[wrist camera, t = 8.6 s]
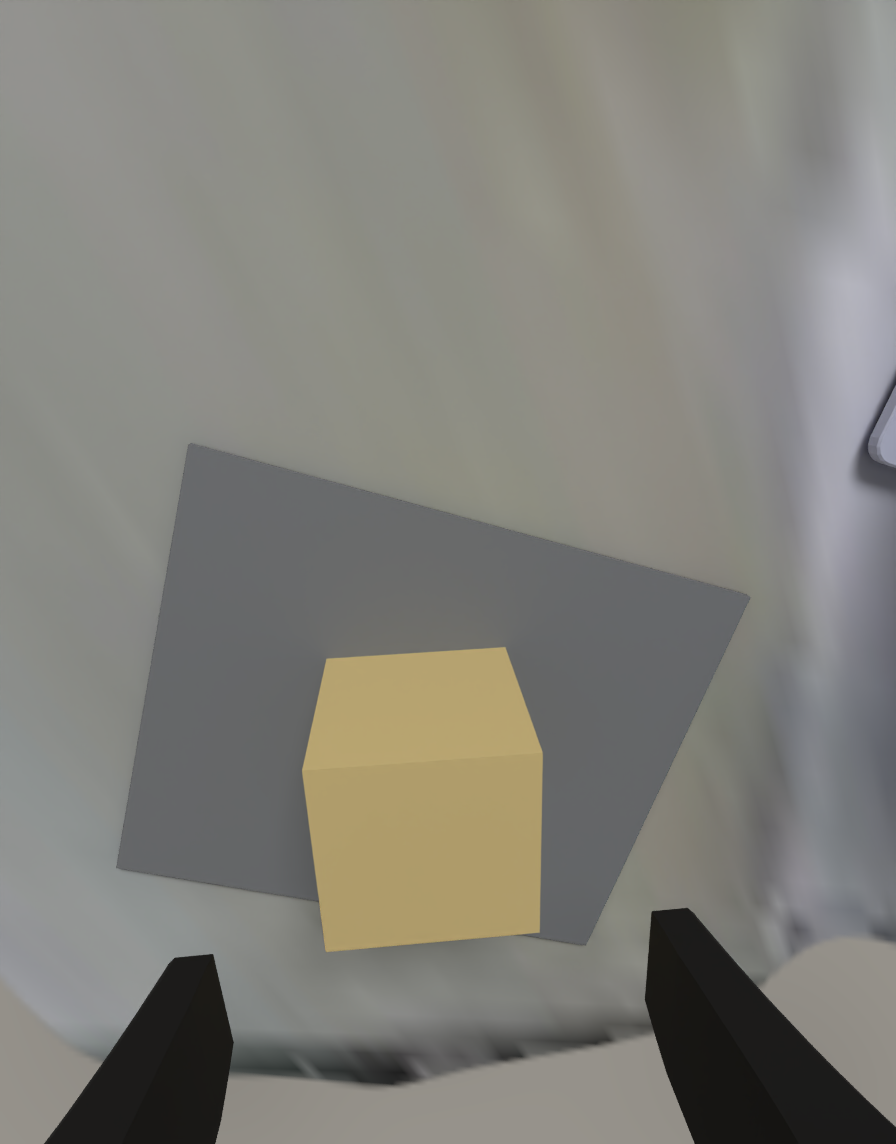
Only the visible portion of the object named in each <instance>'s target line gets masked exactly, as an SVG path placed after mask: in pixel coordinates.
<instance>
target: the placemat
mask: <svg viewBox="0 0 896 1144" xmlns="http://www.w3.org/2000/svg"><path fill="white" fill-rule="evenodd" d="M749 600H750V597H749V596H748V595H747V594H743V593H739V592H736V591H732V590H728V589H725V588H721V587H717V586H714V585H710V584H706V583H703V582H699V581H695V580H692V579H688V578H684V577H681V576H677V575H673V574H670V573H666V572H662V571H659V570H655V569H651V568H648V567H644V566H640V565H637V564H633V563H629V562H625V561H622V560H618V559H614V558H611V557H607V556H603V555H600V554H596V553H592V552H589V551H585V550H581V549H578V548H574V547H570V546H567V545H563V544H559V543H556V542H552V541H548V540H545V539H541V538H537V537H534V536H530V535H526V534H523V533H519V532H515V531H512V530H508V529H504V528H501V527H497V526H493V525H489V524H486V523H482V522H478V521H475V520H471V519H467V518H464V517H460V516H456V515H453V514H449V513H445V512H442V511H438V510H434V509H431V508H427V507H423V506H420V505H416V504H412V503H409V502H405V501H401V500H398V499H394V498H390V497H387V496H383V495H379V494H376V493H372V492H368V491H364V490H361V489H357V488H353V487H350V486H346V485H342V484H339V483H335V482H331V481H328V480H324V479H320V478H317V477H313V476H309V475H306V474H302V473H298V472H295V471H291V470H287V469H284V468H280V467H276V466H273V465H269V464H265V463H262V462H258V461H254V460H251V459H247V458H243V457H239V456H236V455H232V454H228V453H225V452H221V451H217V450H214V449H210V448H206V447H203V446H199V445H195V444H192V443H191V444H189V445H188V449H187V455H186V461H185V467H184V473H183V479H182V484H181V490H180V496H179V502H178V508H177V514H176V520H175V526H174V531H173V537H172V543H171V549H170V555H169V561H168V567H167V573H166V578H165V584H164V590H163V596H162V602H161V608H160V614H159V620H158V625H157V631H156V637H155V643H154V649H153V655H152V661H151V667H150V672H149V678H148V684H147V690H146V696H145V702H144V708H143V714H142V719H141V725H140V731H139V737H138V743H137V749H136V755H135V761H134V766H133V772H132V778H131V784H130V790H129V796H128V802H127V807H126V813H125V819H124V825H123V831H122V837H121V843H120V849H119V854H118V860H117V866H116V868H119V869H125V870H131V871H137V872H144V873H150V874H156V875H162V876H168V877H174V878H180V879H186V880H192V881H198V882H204V883H210V884H216V885H222V886H228V887H234V888H241V889H247V890H253V891H259V892H265V893H271V894H277V895H283V896H289V897H295V898H301V899H307V900H313V901H319V897H318V889H317V881H316V874H315V866H314V859H313V851H312V843H311V836H310V828H309V820H308V813H307V805H306V797H305V790H304V782H303V775H302V768H303V764H304V759H305V755H306V750H307V746H308V741H309V736H310V732H311V727H312V723H313V718H314V714H315V709H316V704H317V700H318V695H319V691H320V686H321V681H322V677H323V672H324V668H325V663H326V659H330V658H345V657H361V656H376V655H392V654H407V653H423V652H438V651H454V650H469V649H485V648H500V647H506V650H507V653H508V656H509V659H510V662H511V664H512V667H513V670H514V673H515V676H516V679H517V681H518V684H519V687H520V690H521V693H522V695H523V698H524V701H525V704H526V707H527V710H528V712H529V715H530V718H531V721H532V724H533V726H534V729H535V732H536V735H537V738H538V741H539V743H540V746H541V749H542V752H543V772H542V829H541V886H540V933H530V934H520V935H526V936H532V937H538V938H544V939H550V940H556V941H562V942H568V943H574V944H580V945H586V944H587V942H588V940H589V938H590V936H591V934H592V931H593V929H594V927H595V925H596V923H597V921H598V919H599V917H600V915H601V912H602V910H603V908H604V906H605V904H606V902H607V900H608V898H609V895H610V893H611V891H612V889H613V887H614V885H615V883H616V881H617V879H618V876H619V874H620V872H621V870H622V868H623V866H624V864H625V862H626V860H627V857H628V855H629V853H630V851H631V849H632V847H633V845H634V843H635V841H636V838H637V836H638V834H639V832H640V830H641V828H642V826H643V824H644V822H645V819H646V817H647V815H648V813H649V811H650V809H651V807H652V805H653V802H654V800H655V798H656V796H657V794H658V792H659V790H660V788H661V786H662V783H663V781H664V779H665V777H666V775H667V773H668V771H669V769H670V767H671V764H672V762H673V760H674V758H675V756H676V754H677V752H678V750H679V748H680V745H681V743H682V741H683V739H684V737H685V735H686V733H687V731H688V729H689V726H690V724H691V722H692V720H693V718H694V716H695V714H696V712H697V710H698V707H699V705H700V703H701V701H702V699H703V697H704V695H705V693H706V690H707V688H708V686H709V684H710V682H711V680H712V678H713V676H714V674H715V671H716V669H717V667H718V665H719V663H720V661H721V659H722V657H723V655H724V652H725V650H726V648H727V646H728V644H729V642H730V640H731V638H732V636H733V633H734V631H735V629H736V627H737V625H738V623H739V621H740V619H741V617H742V614H743V612H744V610H745V608H746V606H747V604H748V602H749Z"/></svg>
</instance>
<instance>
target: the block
mask: <svg viewBox="0 0 896 1144" xmlns="http://www.w3.org/2000/svg"><path fill="white" fill-rule="evenodd" d="M542 772H543V752H542V749H541V746H540V743H539V741H538V738H537V735H536V732H535V729H534V726H533V724H532V721H531V718H530V715H529V712H528V710H527V707H526V704H525V701H524V698H523V695H522V693H521V690H520V687H519V684H518V681H517V679H516V676H515V673H514V670H513V667H512V664H511V662H510V659H509V656H508V653H507V650H506V647H500V648H485V649H469V650H454V651H438V652H423V653H407V654H392V655H376V656H361V657H345V658H330V659H326V663H325V668H324V672H323V677H322V681H321V686H320V691H319V695H318V700H317V704H316V709H315V714H314V718H313V723H312V727H311V732H310V736H309V741H308V746H307V750H306V755H305V759H304V764H303V768H302V775H303V782H304V790H305V797H306V805H307V813H308V820H309V828H310V836H311V843H312V851H313V859H314V866H315V874H316V881H317V889H318V897H319V904H320V912H321V920H322V927H323V935H324V942H325V950H326V952H332V951H343V950H354V949H365V948H376V947H387V946H398V945H409V944H420V943H431V942H442V941H453V940H464V939H475V938H486V937H497V936H508V935H519V934H530V933H540V886H541V829H542Z"/></svg>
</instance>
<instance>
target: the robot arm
mask: <svg viewBox="0 0 896 1144" xmlns="http://www.w3.org/2000/svg"><path fill="white" fill-rule="evenodd" d="M868 452H869V454H870V456H871V458H872V459H873V460H875V461H876V462H878V463H881V464H884V465H887V466H890V467H893V468H896V386H895V388H894V390H893V392H892V394H891V396H890V398H889V400H888V402H887V404H886V406H885V408H884V410H883V412H882V414H881V416H880V418H879V420H878V422H877V424H876V426H875V428H874V430H873V432H872V434H871V436H870V439H869V443H868ZM645 1002H646V1005H647V1009H648V1012H649V1016H650V1019H651V1023H652V1026H653V1029H654V1033H655V1036H656V1040H657V1043H658V1046H659V1050H660V1053H661V1056H662V1059H663V1062H664V1066H665V1069H666V1072H667V1075H668V1078H669V1080H670V1082H671V1085H672V1087H673V1090H674V1093H675V1095H676V1098H677V1100H678V1103H679V1105H680V1108H681V1110H682V1113H683V1115H684V1118H685V1120H686V1123H687V1126H688V1128H689V1131H690V1133H691V1136H692V1138H693V1140H694V1143H695V1144H896V1127H895V1126H894V1125H893V1124H892V1123H891V1122H890V1121H888V1120H887V1119H886V1118H885V1117H884V1116H883V1115H882V1114H881V1113H880V1112H879V1111H878V1110H877V1109H876V1108H875V1107H874V1106H873V1105H872V1104H870V1102H869V1101H867V1100H866V1099H865V1098H864V1097H863V1096H862V1095H861V1094H860V1093H859V1092H858V1091H857V1090H856V1089H855V1088H854V1087H853V1086H852V1085H851V1084H850V1083H849V1082H848V1081H847V1080H846V1079H845V1078H844V1077H843V1076H842V1075H841V1074H840V1073H839V1072H838V1071H837V1070H836V1069H835V1068H834V1067H833V1066H832V1065H831V1064H830V1063H829V1062H828V1061H827V1060H826V1059H825V1058H824V1057H823V1056H822V1055H821V1054H820V1053H819V1052H818V1051H817V1050H816V1049H815V1048H814V1047H813V1046H812V1045H811V1044H810V1043H809V1042H808V1041H807V1040H806V1039H805V1038H804V1036H803V1035H802V1034H801V1033H800V1032H799V1031H798V1030H797V1029H796V1028H795V1027H794V1026H793V1025H792V1024H791V1023H790V1022H789V1021H788V1020H787V1019H786V1017H785V1016H784V1015H783V1014H782V1013H781V1012H780V1011H779V1010H778V1009H777V1008H776V1007H775V1006H774V1005H773V1003H772V1002H771V1001H770V1000H769V999H768V998H767V997H766V996H765V995H764V994H763V993H762V991H761V990H760V989H759V988H758V987H757V986H756V985H755V984H754V983H753V981H752V980H751V979H750V978H749V977H748V976H747V975H746V973H745V972H744V971H743V970H742V969H741V968H740V967H739V966H738V964H737V963H736V962H735V961H734V960H733V959H732V958H731V956H730V955H729V954H728V953H727V952H726V951H725V950H724V948H723V947H722V946H721V945H720V944H719V943H718V941H717V940H716V939H715V938H714V937H713V935H712V934H711V933H710V932H709V931H708V930H707V928H706V927H705V926H704V925H703V924H702V923H701V921H700V920H699V919H698V918H697V917H696V915H695V914H694V913H693V912H692V911H691V910H689V909H688V908H682V909H672V910H661V911H652V914H651V927H650V940H649V954H648V967H647V980H646V993H645ZM233 1043H234V1042H233V1038H232V1034H231V1030H230V1025H229V1021H228V1017H227V1012H226V1008H225V1004H224V999H223V995H222V991H221V986H220V982H219V978H218V973H217V969H216V965H215V960H214V956H213V954H209V955H199V956H188V957H178V958H174V959H173V960H172V961H171V962H170V963H169V964H168V966H167V968H166V969H165V971H164V972H163V974H162V975H161V977H160V978H159V980H158V981H157V983H156V985H155V986H154V988H153V989H152V991H151V992H150V994H149V995H148V997H147V998H146V1000H145V1001H144V1003H143V1004H142V1006H141V1007H140V1009H139V1010H138V1012H137V1013H136V1015H135V1016H134V1018H133V1019H132V1021H131V1022H130V1024H129V1025H128V1027H127V1028H126V1030H125V1031H124V1033H123V1034H122V1036H121V1037H120V1039H119V1040H118V1042H117V1043H116V1045H115V1046H114V1048H113V1049H112V1050H111V1052H110V1053H109V1055H108V1056H107V1058H106V1059H105V1061H104V1062H103V1063H102V1065H101V1067H100V1068H99V1069H98V1070H97V1072H96V1073H95V1075H94V1076H93V1078H92V1079H91V1080H90V1082H89V1083H88V1085H87V1086H86V1087H85V1089H84V1090H83V1092H82V1093H81V1095H80V1096H79V1097H78V1099H77V1100H76V1102H75V1103H74V1104H73V1106H72V1107H71V1109H70V1110H69V1111H68V1113H67V1114H66V1115H65V1117H64V1118H63V1119H62V1121H61V1122H60V1124H59V1125H58V1126H57V1128H56V1129H55V1130H54V1131H53V1133H52V1134H51V1135H50V1137H49V1138H48V1139H47V1141H46V1142H45V1143H44V1144H215V1142H216V1138H217V1134H218V1130H219V1126H220V1122H221V1117H222V1111H223V1105H224V1100H225V1094H226V1088H227V1082H228V1075H229V1069H230V1062H231V1056H232V1049H233Z"/></svg>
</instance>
